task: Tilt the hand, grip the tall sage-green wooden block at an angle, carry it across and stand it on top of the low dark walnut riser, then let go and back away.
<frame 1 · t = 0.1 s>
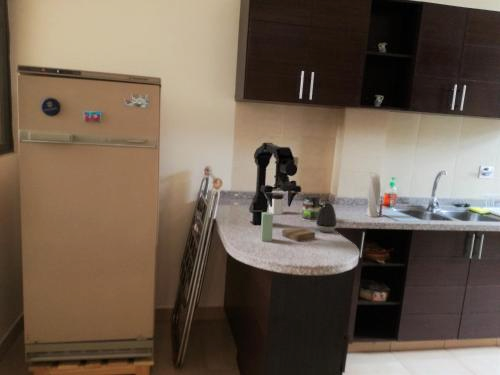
hand: (280, 206, 183), 15 cm above the worktop, tool pointing down, fingers open, 9 cm apart
green block: (266, 239, 178), on the worktop
walnut riser: (298, 238, 185), on the worktop
dark rounded piece: (325, 231, 199), on the worktop
jar: (275, 213, 242), on the worktop
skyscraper: (372, 216, 244), on the worktop
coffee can: (310, 219, 227), on the worktop
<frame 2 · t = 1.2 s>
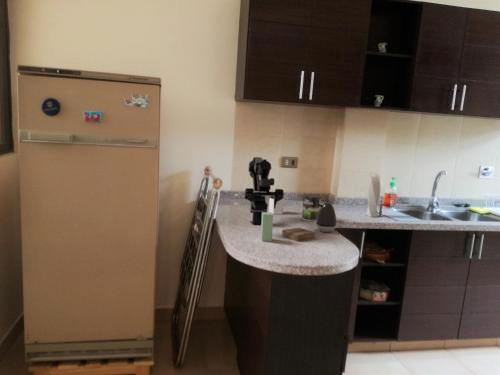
hand: (265, 208, 184), 13 cm above the worktop, tool tilted 45°, fingers open, 9 cm apart
nothing on the worktop moved.
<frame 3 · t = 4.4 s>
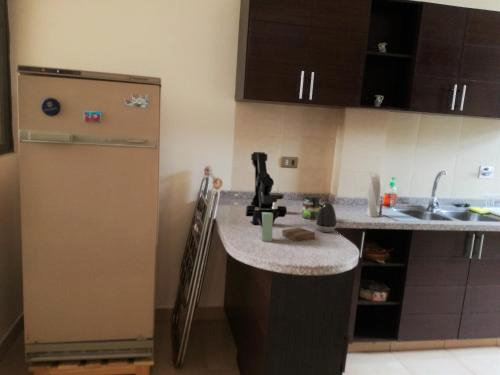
hand: (267, 226, 176), 7 cm above the worktop, tool tilted 45°, fingers closed on green block, 4 cm apart
green block: (266, 239, 178), on the worktop, touching gripper
everything else where it was.
when the fingers open (11 cm above the worktop, at t = 8.5 s): green block drops 2 cm, resting on walnut riser.
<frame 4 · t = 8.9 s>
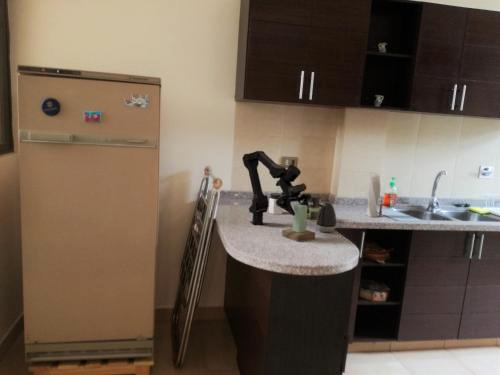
hand: (301, 214, 182), 12 cm above the worktop, tool tilted 45°, fingers open, 9 cm apart
green block: (299, 231, 185), point 3 cm above the worktop, touching walnut riser
walnut riser: (298, 238, 185), on the worktop, touching green block
everything else where it was.
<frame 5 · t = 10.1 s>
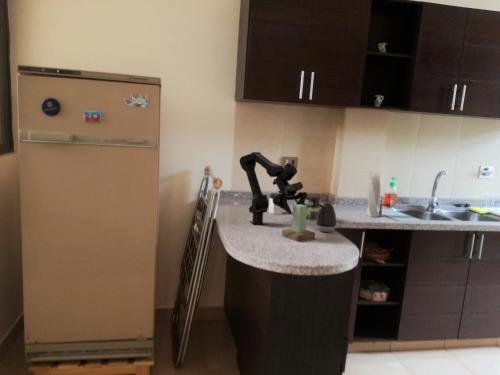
hand: (298, 212, 184), 12 cm above the worktop, tool tilted 45°, fingers open, 9 cm apart
nothing on the worktop moved.
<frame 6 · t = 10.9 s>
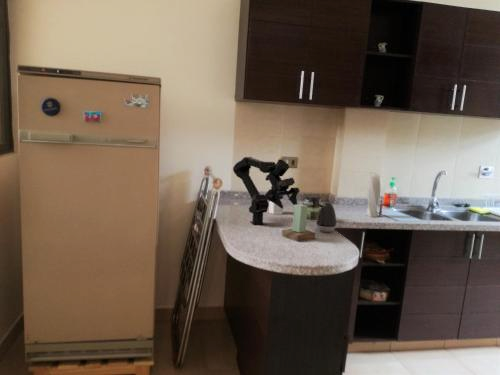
hand: (289, 207, 189), 13 cm above the worktop, tool tilted 45°, fingers open, 9 cm apart
green block: (298, 231, 184), point 3 cm above the worktop
walnut riser: (298, 238, 185), on the worktop
everything else where it was.
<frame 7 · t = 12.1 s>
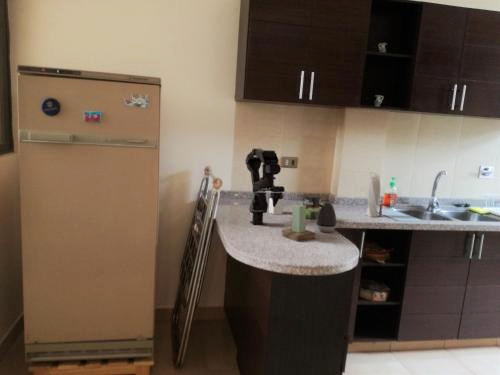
hand: (268, 206, 194), 12 cm above the worktop, tool pointing down, fingers open, 9 cm apart
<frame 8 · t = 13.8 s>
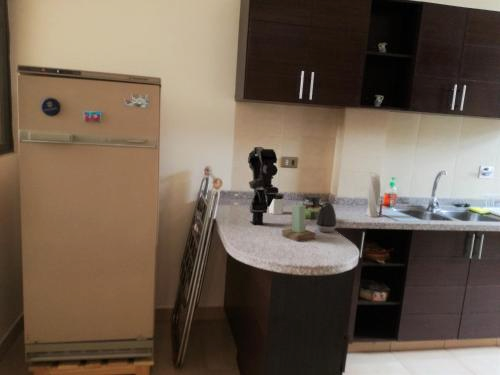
hand: (264, 204, 195), 13 cm above the worktop, tool pointing down, fingers open, 9 cm apart
nothing on the worktop moved.
at the end: green block inside the target area on the walnut riser (0.1 cm from its centre), point 3.7 cm above the walnut riser's base; green block tilted 4°; the gripper is holding nothing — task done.
